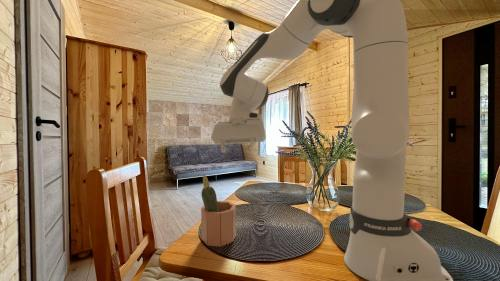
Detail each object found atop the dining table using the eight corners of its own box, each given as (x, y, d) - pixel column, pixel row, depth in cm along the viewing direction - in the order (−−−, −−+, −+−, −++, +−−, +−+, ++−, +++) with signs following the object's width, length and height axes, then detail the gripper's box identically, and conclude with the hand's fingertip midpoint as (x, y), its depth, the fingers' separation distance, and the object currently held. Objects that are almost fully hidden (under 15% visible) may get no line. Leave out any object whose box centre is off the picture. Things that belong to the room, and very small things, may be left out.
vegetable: (224, 237, 70) (206, 177, 67) (211, 239, 71) (193, 179, 68) (228, 228, 75) (211, 171, 71) (216, 230, 76) (199, 173, 72)
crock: (238, 231, 77) (238, 202, 76) (230, 247, 67) (230, 214, 66) (209, 228, 79) (209, 200, 78) (198, 244, 69) (197, 212, 68)
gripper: (212, 117, 90) (205, 148, 82) (264, 113, 85) (262, 145, 77) (217, 127, 95) (211, 156, 87) (267, 124, 90) (265, 155, 82)
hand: (235, 151), depth 82 cm, fingers open, 8 cm apart
